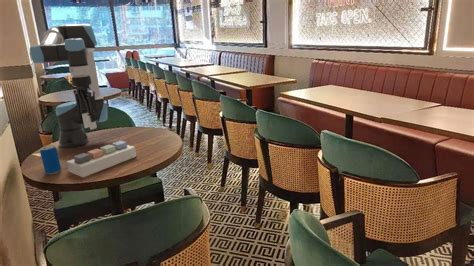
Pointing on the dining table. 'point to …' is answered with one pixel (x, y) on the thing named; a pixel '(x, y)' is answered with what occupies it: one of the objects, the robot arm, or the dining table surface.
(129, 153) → the keypad
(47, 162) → the beverage can
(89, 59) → the robot arm
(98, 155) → the terracotta key
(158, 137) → the dining table surface
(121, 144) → the slate key
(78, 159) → the charcoal key
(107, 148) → the sage key
